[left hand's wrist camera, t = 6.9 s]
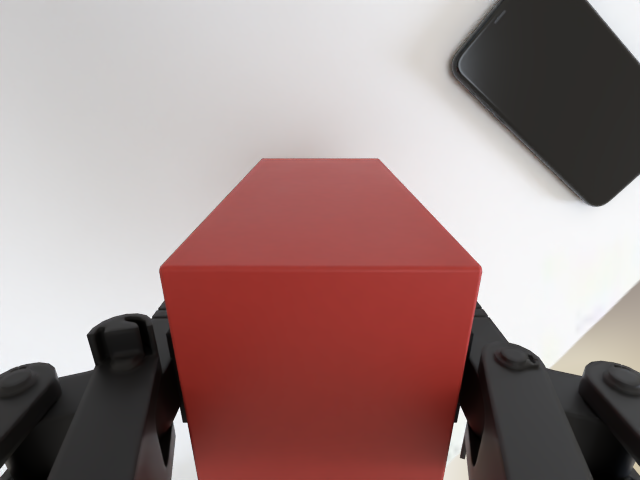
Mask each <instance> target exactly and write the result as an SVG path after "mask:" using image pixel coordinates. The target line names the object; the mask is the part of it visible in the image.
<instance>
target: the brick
mask: <svg viewBox="0 0 640 480" xmlns="http://www.w3.org/2000/svg"><path fill="white" fill-rule="evenodd" d="M159 273H160V278H161V283H162V289H163V294H164V300H165V305H166V310H167V316H168V321H169V326H170V332H171V337H172V342H173V348H174V353H175V358H176V364H177V369H178V375H179V380H180V385H181V391H182V396H183V401H184V407H185V412H186V417H187V423H188V428H189V433H190V439H191V444H192V450H193V455H194V460H195V466H196V471H197V476H198V480H443V477H444V472H445V467H446V461H447V456H448V451H449V445H450V440H451V435H452V429H453V424H454V419H455V414H456V408H457V403H458V398H459V392H460V387H461V382H462V376H463V371H464V366H465V360H466V355H467V350H468V344H469V339H470V334H471V328H472V323H473V318H474V313H475V307H476V302H477V297H478V291H479V286H480V281H481V275H482V268H481V266H480V265H479V264H478V263H477V262H476V261H475V260H474V259H473V257H472V256H471V255H470V254H469V253H468V252H467V251H466V250H465V249H464V248H463V247H462V246H461V245H460V244H459V243H458V242H457V241H456V240H455V239H454V237H453V236H452V235H451V234H450V233H449V232H448V231H447V230H446V229H445V228H444V227H443V226H442V225H441V224H440V223H439V222H438V221H437V220H436V219H435V218H434V216H433V215H432V214H431V213H430V212H429V211H428V210H427V209H426V208H425V207H424V206H423V205H422V204H421V203H420V202H419V201H418V200H417V199H416V198H415V197H414V195H413V194H412V193H411V192H410V191H409V190H408V189H407V188H406V187H405V186H404V185H403V184H402V183H401V182H400V181H399V180H398V179H397V178H396V177H395V176H394V174H393V173H392V172H391V171H390V170H389V169H388V168H387V167H386V166H385V165H384V164H383V163H382V162H381V161H380V160H379V159H261V160H260V161H259V162H258V164H257V165H256V166H255V167H254V168H253V169H252V170H251V171H250V172H249V173H248V174H247V175H246V176H245V177H244V178H243V179H242V180H241V182H240V183H239V184H238V185H237V186H236V187H235V188H234V189H233V190H232V191H231V192H230V193H229V194H228V195H227V196H226V197H225V199H224V200H223V201H222V202H221V203H220V204H219V205H218V206H217V207H216V208H215V209H214V210H213V211H212V212H211V213H210V214H209V215H208V217H207V218H206V219H205V220H204V221H203V222H202V223H201V224H200V225H199V226H198V227H197V228H196V229H195V230H194V231H193V232H192V234H191V235H190V236H189V237H188V238H187V239H186V240H185V241H184V242H183V243H182V244H181V245H180V246H179V247H178V248H177V249H176V250H175V252H174V253H173V254H172V255H171V256H170V257H169V258H168V259H167V260H166V261H165V262H164V263H163V264H162V265H161V266H160V270H159Z"/></svg>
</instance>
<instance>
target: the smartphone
mask: <svg viewBox="0 0 640 480" xmlns="http://www.w3.org/2000/svg"><path fill="white" fill-rule="evenodd" d="M452 72H453V74H454V76H455V77H456V78H457V80H458V81H459V82H460V83H461V84H462V85H464V86H465V87H466V88H467V89H468V90H469V92H470V93H471V94H472V95H474V96H475V97H476V98H477V99H478V100H479V101H480V103H481V104H482V105H483V106H484V107H486V108H487V109H488V110H489V111H490V112H491V113H493V114H494V116H495V117H496V118H497V119H498V120H499V121H500V122H501V123H502V124H504V125H505V126H506V127H507V128H508V129H509V130H510V131H511V132H512V133H513V134H514V135H515V136H516V137H517V138H518V139H519V140H520V141H522V142H523V143H524V144H525V145H526V146H527V147H528V148H529V149H530V150H531V151H532V152H533V153H534V154H535V155H536V156H537V157H538V158H539V159H540V160H541V161H542V162H543V163H544V164H545V165H546V166H547V167H548V168H549V169H551V170H552V171H553V172H554V173H555V174H556V175H557V176H558V177H559V178H560V179H561V180H562V181H563V182H564V183H565V184H566V185H567V186H568V187H569V188H570V189H571V190H572V191H573V192H574V193H575V194H576V195H577V196H578V197H580V198H581V199H582V200H583V201H584V202H585V203H586V204H588V205H590V206H593V207H599V206H602V205H605V204H606V203H608V202H609V201H610V200H612V199H613V198H614V197H615V196H616V195H617V194H618V193H620V192H621V191H622V190H623V189H624V188H625V187H626V186H627V185H628V184H630V183H631V182H632V181H633V180H634V179H635V178H636V177H637V176H639V175H640V63H639V62H638V60H637V59H636V58H635V57H634V56H633V54H632V53H631V52H630V51H629V50H628V49H627V47H626V46H625V45H624V44H623V43H622V41H621V40H620V39H619V38H618V37H617V36H616V34H615V33H614V32H613V31H612V30H611V28H610V27H609V26H608V25H607V24H606V22H605V21H604V20H603V19H602V18H601V17H600V15H599V14H598V13H597V12H596V10H595V9H594V8H593V7H592V6H591V4H590V3H589V2H588V1H587V0H499V1H498V3H497V4H496V5H495V6H494V7H493V9H492V10H491V11H490V12H489V13H488V15H487V16H486V17H485V18H484V20H483V21H482V22H481V23H480V24H479V26H478V27H477V28H476V29H475V31H474V32H473V33H472V34H471V35H470V37H469V38H468V39H467V40H466V42H465V43H464V44H463V45H462V47H461V48H460V49H459V50H458V52H457V53H456V54H455V56H454V58H453V61H452Z"/></svg>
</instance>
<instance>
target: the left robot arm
mask: <svg viewBox="0 0 640 480" xmlns="http://www.w3.org/2000/svg"><path fill="white" fill-rule="evenodd" d="M87 338H88V341H89V345H90V348H91V351H92V355H93V358H94V362H95V365H96V366H95V368H94V370H91V371H87V372H83V373H78V374H73V375H69V376H64V377H59V378H58V376H57V373H56V370H55V368H54V367H53V366H52V365H50V364H49V363H40V362H38V363H31V364H25V365H21V366H19V367H15V368H12V369H10V370H8V371H6V372H4V373H2V374H0V468H1V467H2V466H3V465H4V464H6V466H7V468H8V469H7V470H6V471H5V472H4V474H3V475H2V476H1V477H0V480H171V476H172V466H173V456H174V446H175V430H174V425H173V420H174V418H175V416H176V414H177V412H178V409H179V407H180V410H181V415H182V420H183V423H187V417H186V412H185V407H184V401H183V396H182V391H181V385H180V380H179V375H178V369H177V364H176V358H175V353H174V348H173V342H172V337H171V332H170V326H169V321H168V316H167V310H166V305H165V301H164V302H163V303H162V304H161V306H160V307H159V308H158V310H157V311H156V312H155V314H154V315H153V316H152V319H151V318H149V317H148V316H147V315H143V314H138V313H136V314H124V315H120V316H115V317H113V318H110V319H108V320H105V321H103V322H101V323H100V324H98V325H97V326H95V327H94V328H92V330H91V331H90V332H89V333H88V334H87ZM460 406H461V408H462V410H463V412H464V415H465V417H466V419H467V425H466V429H465V434H464V439H463V444H462V449H461V455H460V458H462V459H465V455H467V465H468V475H469V480H640V475H639V474H638V473H637V472H636V471H635V469H634V468H633V465H634V463H635V461H636V462H637V464H638V465H639V466H640V373H639V372H637V371H635V370H633V369H631V368H630V367H627V366H624V365H621V364H618V363H614V362H606V361H595V362H591V363H589V364H588V365H587V366H586V367H585V369H584V372H583V375H582V376H579V375H574V374H569V373H564V372H560V371H555V370H551V369H548V368H546V367H545V365H544V364H543V362H542V361H541V360H540V358H539V357H538V356H536V355H535V354H534V353H532V352H531V351H530V350H528V349H526V348H524V347H521V346H519V345H516V344H512V343H509V342H508V341H507V340H506V338H505V337H504V336H503V334H502V333H501V332H500V331H499V329H498V328H497V327H496V325H495V324H494V323H493V321H492V320H491V319H490V318H489V317H488V315H487V314H486V312H485V311H484V310H483V309H482V307H481V306H480V305H479V303H478V302H476V307H475V313H474V318H473V323H472V328H471V334H470V339H469V344H468V350H467V355H466V360H465V366H464V371H463V376H462V382H461V387H460V392H459V398H458V403H457V408H456V414H455V419H454V423H457V419H458V414H459V409H460Z"/></svg>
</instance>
